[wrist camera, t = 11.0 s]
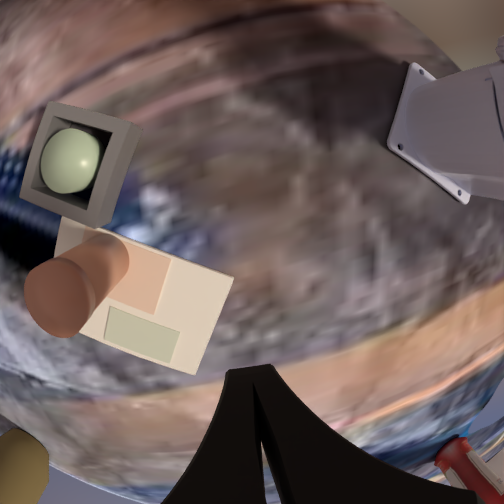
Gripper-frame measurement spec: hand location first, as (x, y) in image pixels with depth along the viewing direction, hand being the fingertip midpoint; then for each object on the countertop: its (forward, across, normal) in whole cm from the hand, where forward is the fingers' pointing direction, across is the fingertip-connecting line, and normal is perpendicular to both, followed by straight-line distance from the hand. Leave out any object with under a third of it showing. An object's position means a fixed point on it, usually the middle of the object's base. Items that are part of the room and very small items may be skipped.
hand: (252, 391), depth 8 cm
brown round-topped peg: (+10, +8, -2) cm, 13 cm away
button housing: (+10, +8, -9) cm, 16 cm away
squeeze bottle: (+11, +28, +19) cm, 36 cm away
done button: (+10, +8, -9) cm, 15 cm away
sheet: (+10, +7, 0) cm, 13 cm away
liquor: (+11, -30, +35) cm, 47 cm away
